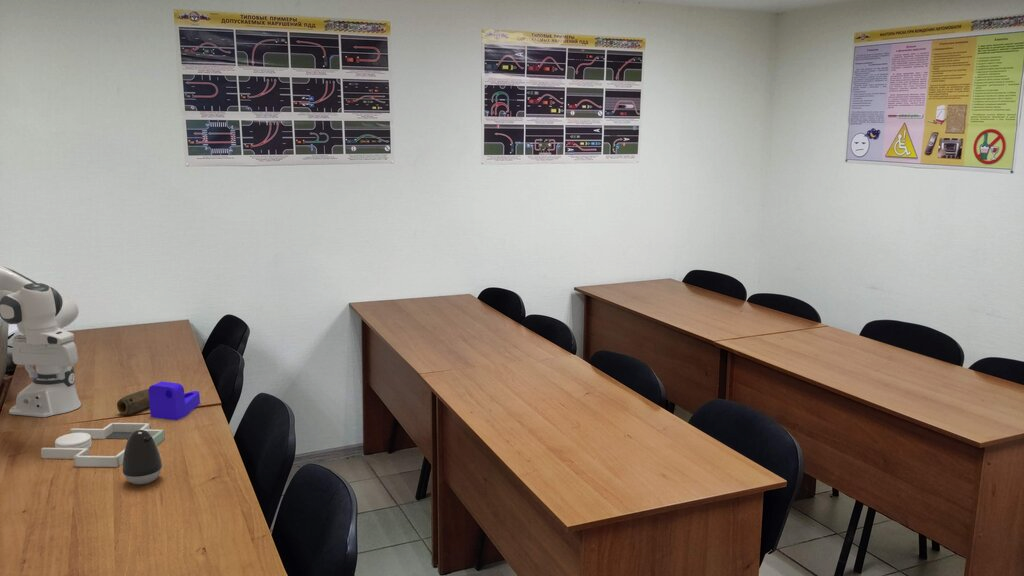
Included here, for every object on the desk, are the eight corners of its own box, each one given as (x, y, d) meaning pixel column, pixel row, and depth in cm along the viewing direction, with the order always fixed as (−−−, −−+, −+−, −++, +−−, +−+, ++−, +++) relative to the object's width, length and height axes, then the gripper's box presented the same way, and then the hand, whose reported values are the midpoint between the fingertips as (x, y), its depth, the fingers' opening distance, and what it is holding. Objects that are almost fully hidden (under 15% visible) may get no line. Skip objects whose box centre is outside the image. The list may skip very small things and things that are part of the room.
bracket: (177, 420, 277) (174, 387, 275) (150, 417, 280) (148, 384, 278) (210, 403, 294) (208, 372, 292) (185, 400, 297) (183, 370, 295)
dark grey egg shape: (138, 492, 223) (133, 440, 220) (116, 483, 228) (111, 432, 225) (171, 478, 231) (167, 428, 228) (148, 470, 237) (144, 421, 234)
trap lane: (31, 465, 239) (29, 456, 239) (82, 430, 267) (81, 422, 266) (131, 467, 239) (130, 457, 238) (172, 432, 266) (171, 423, 266)
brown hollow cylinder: (132, 418, 279) (130, 399, 278) (115, 415, 281) (114, 397, 280) (162, 404, 293) (161, 386, 292) (146, 402, 295) (144, 384, 294)
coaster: (99, 444, 256) (98, 434, 255) (73, 456, 247) (71, 445, 246) (74, 440, 259) (73, 430, 259) (48, 452, 250) (46, 441, 249)
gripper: (4, 337, 249) (10, 380, 251) (64, 339, 246) (69, 383, 248) (19, 332, 255) (25, 374, 258) (78, 334, 252) (83, 376, 255)
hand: (47, 378), depth 253 cm, fingers open, 8 cm apart
